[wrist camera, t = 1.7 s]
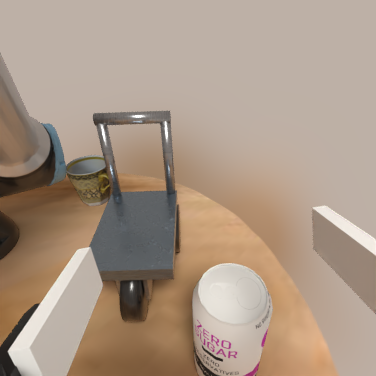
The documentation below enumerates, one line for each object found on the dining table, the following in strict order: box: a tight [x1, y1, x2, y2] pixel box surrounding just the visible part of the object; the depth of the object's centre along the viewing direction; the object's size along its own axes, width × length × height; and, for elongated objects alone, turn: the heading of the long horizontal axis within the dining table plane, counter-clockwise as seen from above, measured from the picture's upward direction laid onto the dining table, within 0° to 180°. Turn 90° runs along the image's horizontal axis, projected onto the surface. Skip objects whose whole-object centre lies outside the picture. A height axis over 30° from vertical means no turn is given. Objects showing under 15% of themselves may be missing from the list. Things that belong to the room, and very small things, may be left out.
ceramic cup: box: [66, 155, 110, 206], centre depth 63 cm, size 13×10×10 cm
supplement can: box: [192, 263, 273, 376], centre depth 30 cm, size 8×8×15 cm
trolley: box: [89, 111, 180, 322], centre depth 40 cm, size 22×12×26 cm, turn 1°
